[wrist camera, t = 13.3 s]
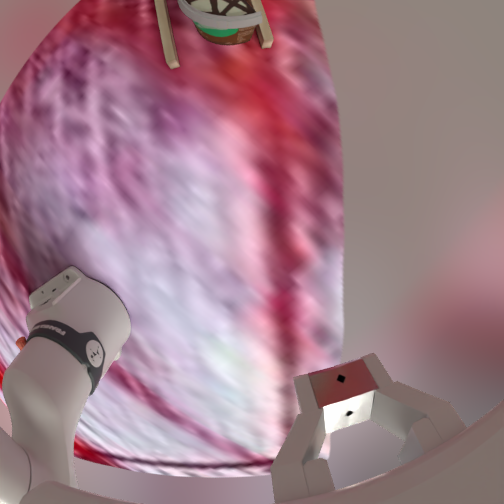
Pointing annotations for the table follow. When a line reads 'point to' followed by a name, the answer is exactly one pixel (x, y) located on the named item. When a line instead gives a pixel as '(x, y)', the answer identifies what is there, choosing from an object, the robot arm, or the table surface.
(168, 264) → the table surface
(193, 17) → the food container
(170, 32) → the wooden u-shaped frame
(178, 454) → the table surface
